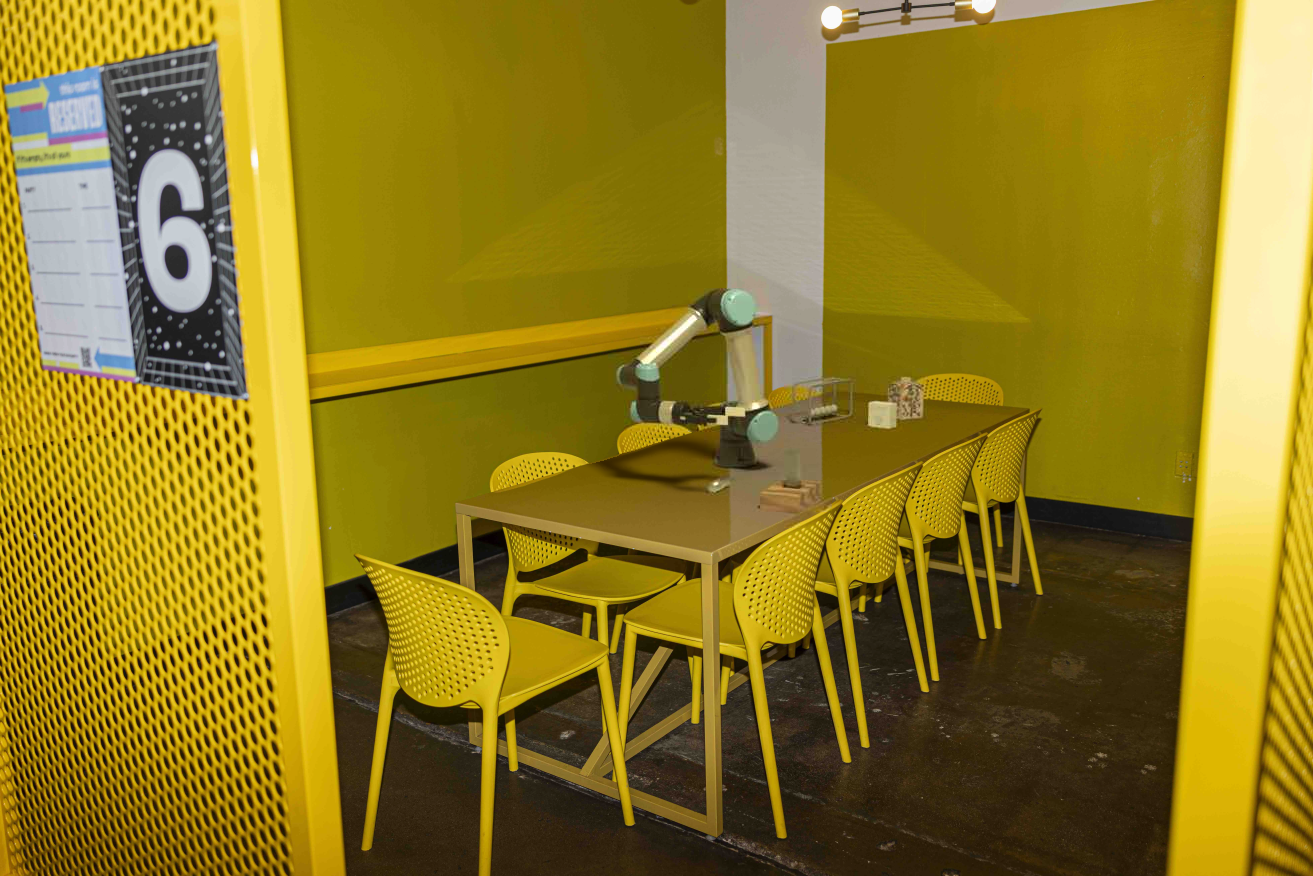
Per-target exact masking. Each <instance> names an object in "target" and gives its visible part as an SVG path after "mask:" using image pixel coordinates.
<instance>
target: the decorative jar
mask: <svg viewBox="0 0 1313 876" xmlns="http://www.w3.org/2000/svg"><path fill="white" fill-rule="evenodd" d="M924 391H925V389H924V387H923V386H922V385H921V383H920V382H918V381H916V380H912V377H910V376H908V377H907V376H901V377H900V380H895V381H893V382H892V383H891V384H890V385H889V386H888V387H887V402H890V403H897V420H899V421H906V420H919V419H920V420H921V419H923V418H924V393H925V392H924Z"/></svg>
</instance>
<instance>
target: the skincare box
mask: <svg viewBox="0 0 1313 876" xmlns="http://www.w3.org/2000/svg"><path fill="white" fill-rule="evenodd" d="M867 414H868V417H867V418H868V419H867V422H868V423H867V427H868V426H871V428H877V427H878V429H888V430H889V429H893V428H897V420H898V419H897V403H890V402H888V401H877V400H874V401H869V402H868V413H867Z"/></svg>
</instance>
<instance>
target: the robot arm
mask: <svg viewBox="0 0 1313 876" xmlns="http://www.w3.org/2000/svg"><path fill="white" fill-rule="evenodd" d="M756 314H757V305H756V301H755V299H754V298H753V296H752V295H751V294H750V293H748V292H747V291H745V290H742V289H739V288H738V289H737V288H722V287H719V288H714V289H711V290H709V291H707V292H705V293H704V294H703V295H702V296H700V297H699V298H698V299H697V300H696V301H694V302H693V303H692V304H691V305H690V306H689V307H687V308H686V313H685V314H684V315H683V316H682V317H681V318H680V319H678V320H677V321H676V322H674V324H673V325H672V326H671V327H669V328H668V329H667V330H666V331H665V332H664V333H663V334H662V335H661V336H659V337H658V338H657V339H656V340H655V341H653V343H651V344H650V345H649V347H647V348H646V349H645V350H643V352H641V354H639V355H638V356H636V358H635V359H633V360H632V361H631V362H630V363H629V364H623V365H620V367H618V369H617V370H616V372H615V373H616V374H615V379H616V381H617V383H618V384H619V385H620V386H622V387H624V388H626V389H631V390H635V391H636V399H635V400H633V401H632V402H631V405H630V409H629V414H630V418H631V419H632V421H634V422H636V423H643V424H658V425H659V424H661V425H665V424H666V426H668V427H669V426H670V425H676V426H687V425H688V424H693V425H698V426H702V427H707V426H708V425H718V430H719V432H718V433H719V435H718V438H719V443H718V447H717V449H716V453H715V455H714V465H715V466H718V467H722V468H727V467H728V468H729V467H730V469H736V468H735V467H744V468H748V467H747V466H750V467H753V466H752V465H754V466H755V464H756V465H757V455H756V452H755V449H754V446H753V443H755V444H760V445H761V444H766V443H769V442H770V441H772V440H773V438H774V437H776V434H777V432H778V430H779V427H780V426H779V419H778V416H777V415H776V414H775V413H774V412H773V411H771V408H770V403H769V400H768V399H766V398H765V397H764V394H763V389H762V384H761V381H760V376H759V371H758V365H757V360H756V354H755V349H754V343H753V339H752V335H751V330H752V329H753V327H754V321H753V320H754V319H755V316H756ZM716 323H717V325H718V331H719V334H721V335H722V336H724V338H725V341H726V342H725V343H726V346H727V353H728V357H729V361H730V366H731V371H732V376H733V381H734V385H735V386H734V387H735V391H736V394H737V399H738V400H733V401H732V400H731V401H723V402H721V403H720V404H719V405H711V406H707V405H706V406H700V405H698V406H693V407H691V405H690V404H689V402H687V401H675V400H674V401H673V400H671V401H670V400H661V394H660V390H661V388H660V371H659V368H660V367H661V366H663V364H664V363H665V362H667V361H668V360H669V359H670V358H671V357H672V356H673V355H674V354H675V353H677V352H678V351H679V350H680V349H682V347H683V346H685V344H687V343H688V342H689V341H690V340H691V339H693V338H694V337H695V336H696V335H697V334H698V333H699V332H701V331H705V330H707V329H708V328H709V327H711V326H712V325H714V324H716ZM733 467H734V468H733ZM728 468H727V469H728Z"/></svg>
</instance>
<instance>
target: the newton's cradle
mask: <svg viewBox="0 0 1313 876" xmlns="http://www.w3.org/2000/svg"><path fill="white" fill-rule="evenodd" d="M846 382H849V413H848V414H847V415H844V414H838V413H837V414H836V412H837V411H838V406H837V391H838V388H837V387H838V384H839V383H846ZM814 383H815V384H814ZM832 385H833V387H832ZM796 386H804V387H805V386H806V387H808V390H807V392H808V394H807V395H808V409H807V411H806V416H807V417H806V418H799V419H796V418H795V403H796V402H795V399H796V398H795V393H796V392H795V391H796V390H795V389H796ZM823 386H824V387H825V390H824V391H825V394H824V395H827V388H828V386H829V387H830V391H832V390H833V394H832V392H830V395H829V397H832V400H831V399H828V398H827V397H828V396H825V397H824V399H823V401H825V399H826V401H828V400H829V401H828V403H830V402H831V401H832V402H831V403H832V404H831V405H830V404H826V405H825V403H823V402H822V401H818V404H817V405H819V403H821V406H820V407H819V406H815V408H812V407H813V405H814V403H812V401H815V403H817V402H816V401H817V400H816V398H815V397H813V398H812V390H813V389H814V390H816V389H817V388H819V397H818V399H821V398H822V396H821V391H822V389H821V387H823ZM853 386H854V382H853V379H852V378H839V377H835V376H828V377H823V378H817V379H811V380H805V381H800V382H795V383H793V384H792V387H791V421H792V422H793V423H794V422H798V421H802V420H807V422H806V423H807V424H806V425H810V426H811V425H812V426H815V425H814V424H817V425H820V424H819V423H822V424H825V423H824V422H826V423H829V421H831V422H834V420H836V421H839V419H840V420H844V419H843V418H845V419H848V418H847V417H849V418H851V417H852V416H853V401H854V400H853V396H854V395H853V394H854V391H853V390H854V387H853ZM832 388H833V389H832ZM813 396H816V391H813ZM830 400H831V401H830ZM830 415H831V416H837V417H834V418H830V419H824V420H819V421H816V422H812V420H814V419H813V418H816V419H819V418H818V417H821V418H825V417H824V416H826V417H830ZM811 419H812V420H811ZM798 423H799V422H798ZM801 424H805V421H802V423H801Z"/></svg>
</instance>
